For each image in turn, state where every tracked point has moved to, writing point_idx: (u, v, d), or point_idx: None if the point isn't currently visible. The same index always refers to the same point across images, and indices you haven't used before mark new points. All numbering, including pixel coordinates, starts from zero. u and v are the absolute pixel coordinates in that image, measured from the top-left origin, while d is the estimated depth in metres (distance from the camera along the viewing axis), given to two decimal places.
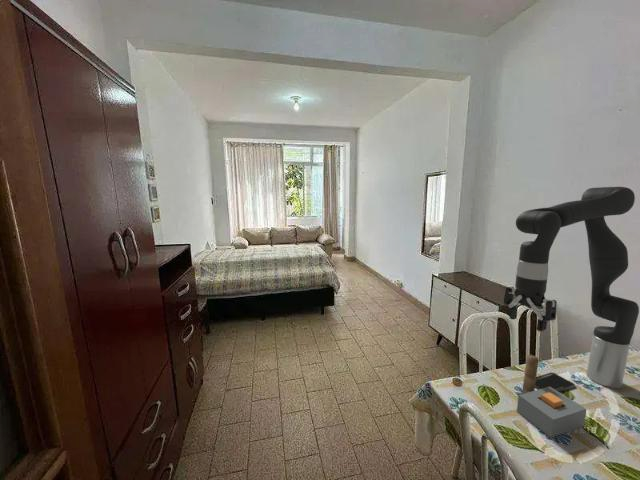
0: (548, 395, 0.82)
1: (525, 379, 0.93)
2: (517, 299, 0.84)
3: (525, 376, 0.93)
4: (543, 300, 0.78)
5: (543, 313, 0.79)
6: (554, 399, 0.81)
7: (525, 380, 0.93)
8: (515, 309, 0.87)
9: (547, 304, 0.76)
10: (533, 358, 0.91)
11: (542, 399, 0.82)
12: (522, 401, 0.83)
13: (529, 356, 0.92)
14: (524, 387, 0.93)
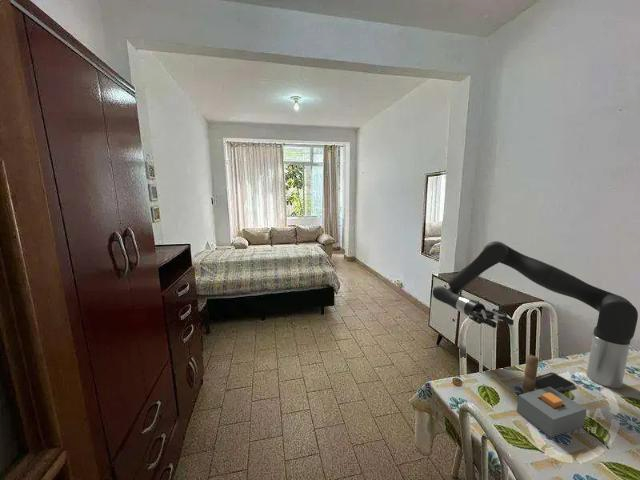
0: (548, 395, 0.82)
1: (525, 379, 0.93)
2: None
3: (525, 376, 0.93)
4: None
5: None
6: (554, 399, 0.81)
7: (525, 380, 0.93)
8: (504, 318, 1.05)
9: None
10: (533, 358, 0.91)
11: (542, 399, 0.82)
12: (522, 401, 0.83)
13: (529, 356, 0.92)
14: (524, 387, 0.93)
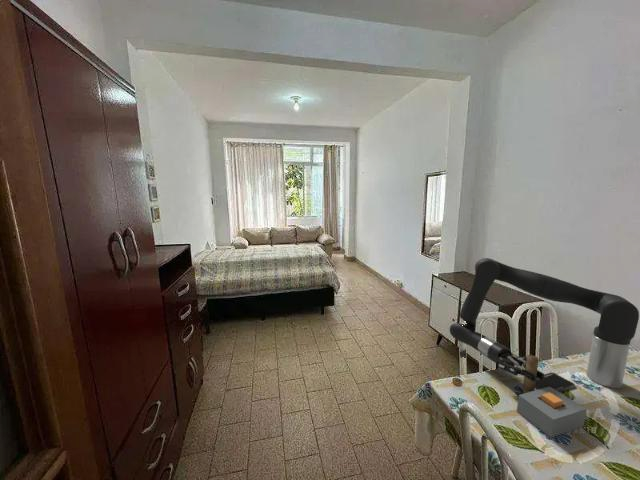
0: (548, 395, 0.82)
1: (525, 379, 0.93)
2: None
3: None
4: None
5: None
6: (554, 399, 0.81)
7: (525, 380, 0.93)
8: None
9: None
10: (533, 358, 0.91)
11: (542, 399, 0.82)
12: (522, 401, 0.83)
13: (529, 356, 0.92)
14: (524, 387, 0.93)
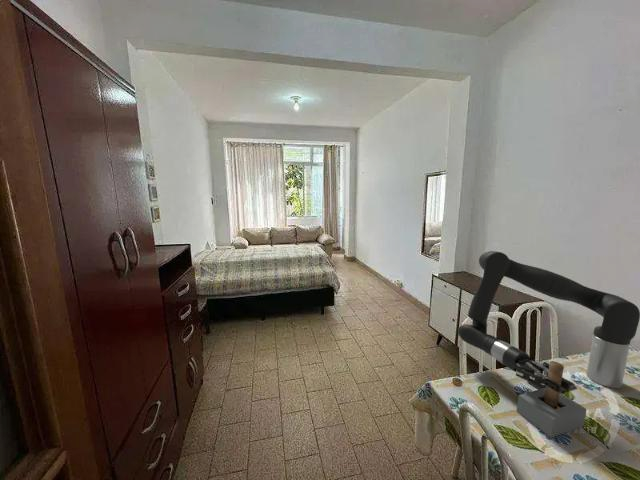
0: None
1: (547, 389, 0.81)
2: None
3: (547, 386, 0.81)
4: None
5: None
6: None
7: (547, 390, 0.81)
8: None
9: None
10: (557, 365, 0.79)
11: None
12: (522, 401, 0.83)
13: (552, 363, 0.80)
14: (546, 398, 0.81)
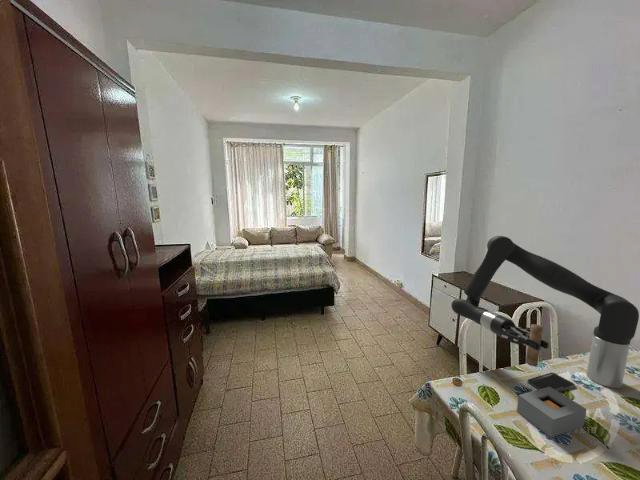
0: (547, 402, 0.83)
1: (529, 349, 0.91)
2: None
3: (529, 346, 0.91)
4: None
5: None
6: (553, 407, 0.81)
7: (529, 350, 0.91)
8: None
9: None
10: (537, 327, 0.89)
11: None
12: (522, 401, 0.83)
13: (533, 325, 0.90)
14: (528, 357, 0.91)
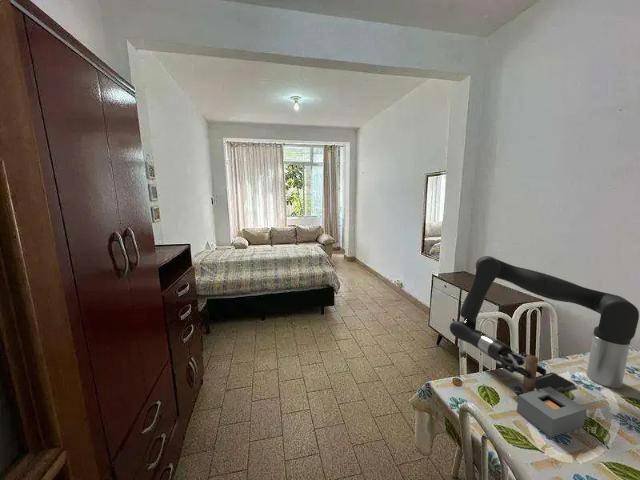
0: (547, 402, 0.83)
1: (525, 379, 0.93)
2: None
3: None
4: None
5: None
6: (553, 407, 0.81)
7: (525, 380, 0.93)
8: None
9: None
10: (533, 358, 0.91)
11: None
12: (522, 401, 0.83)
13: (529, 356, 0.92)
14: (524, 387, 0.93)
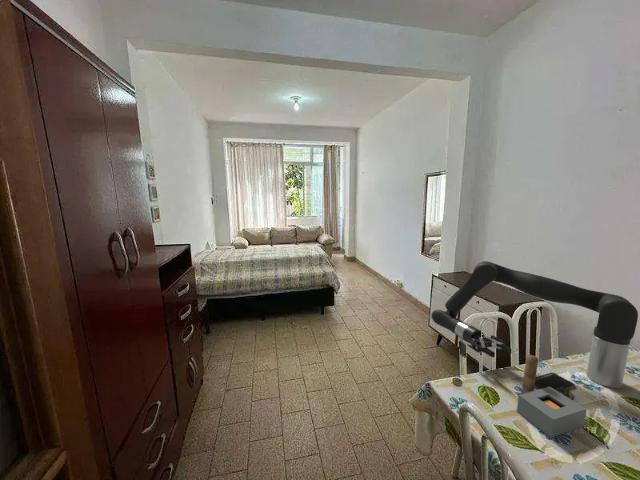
0: (547, 402, 0.83)
1: (525, 379, 0.93)
2: None
3: (525, 376, 0.93)
4: None
5: None
6: (553, 407, 0.81)
7: (525, 380, 0.93)
8: (502, 346, 1.06)
9: None
10: (533, 358, 0.91)
11: None
12: (522, 401, 0.83)
13: (529, 356, 0.92)
14: (524, 387, 0.93)
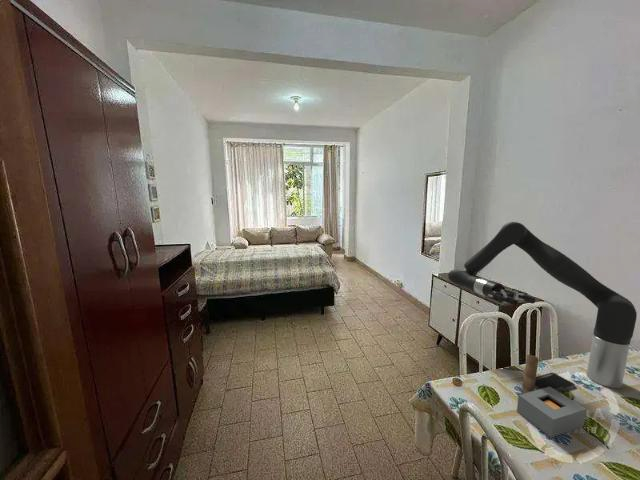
0: (547, 402, 0.83)
1: (525, 379, 0.93)
2: None
3: (525, 376, 0.93)
4: None
5: None
6: (553, 407, 0.81)
7: (525, 380, 0.93)
8: (524, 297, 1.04)
9: None
10: (533, 358, 0.91)
11: None
12: (522, 401, 0.83)
13: (529, 356, 0.92)
14: (524, 387, 0.93)
